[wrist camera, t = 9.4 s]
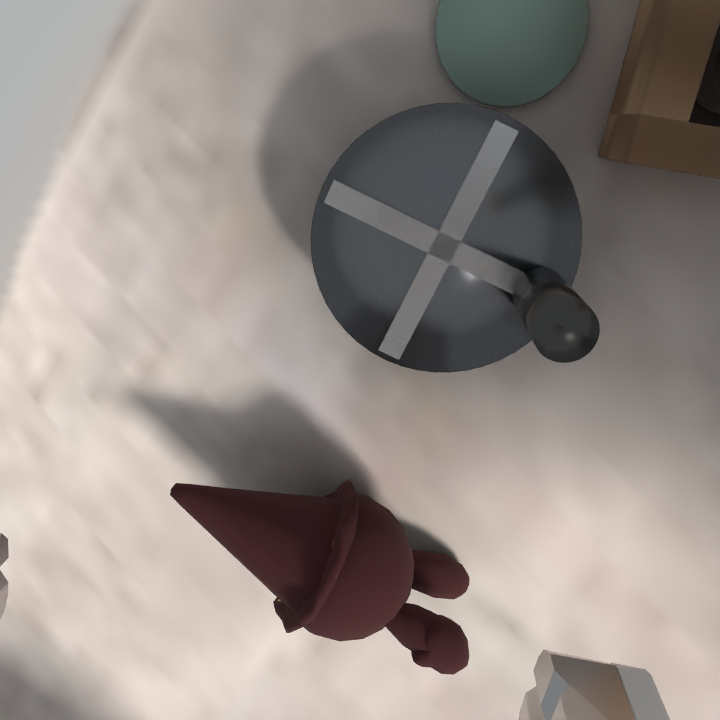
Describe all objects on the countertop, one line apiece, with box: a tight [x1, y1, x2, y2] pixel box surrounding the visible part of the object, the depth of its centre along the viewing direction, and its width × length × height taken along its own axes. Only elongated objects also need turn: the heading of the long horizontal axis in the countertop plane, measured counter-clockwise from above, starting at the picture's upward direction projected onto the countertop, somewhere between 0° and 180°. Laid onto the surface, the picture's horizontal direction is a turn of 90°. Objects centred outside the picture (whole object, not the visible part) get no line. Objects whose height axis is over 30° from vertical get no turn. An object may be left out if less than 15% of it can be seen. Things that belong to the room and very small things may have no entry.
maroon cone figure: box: [170, 480, 469, 674], centre depth 31 cm, size 7×7×15 cm
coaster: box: [436, 0, 588, 106], centre depth 26 cm, size 6×6×1 cm
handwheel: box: [311, 103, 600, 372], centre depth 24 cm, size 10×10×6 cm
